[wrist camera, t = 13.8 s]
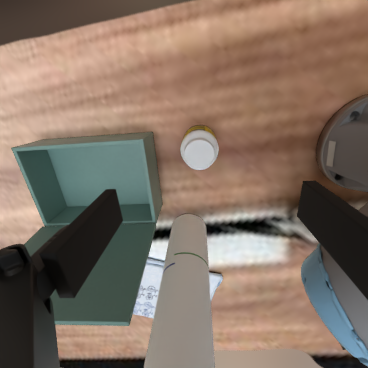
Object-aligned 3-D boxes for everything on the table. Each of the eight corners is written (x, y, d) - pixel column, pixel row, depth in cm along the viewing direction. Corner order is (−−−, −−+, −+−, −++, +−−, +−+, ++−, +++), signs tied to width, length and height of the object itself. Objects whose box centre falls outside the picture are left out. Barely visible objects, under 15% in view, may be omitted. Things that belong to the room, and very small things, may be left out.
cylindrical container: (164, 225, 41) (124, 385, 18) (191, 207, 39) (182, 363, 16) (186, 247, 43) (174, 415, 20) (212, 231, 41) (232, 400, 18)
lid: (-54, 319, 21) (-50, 322, 22) (127, 322, 19) (129, 326, 20) (42, 226, 34) (44, 229, 35) (155, 223, 33) (156, 226, 33)
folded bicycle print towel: (139, 254, 45) (136, 261, 43) (224, 273, 45) (225, 280, 43) (130, 307, 52) (127, 315, 50) (203, 322, 53) (203, 331, 51)
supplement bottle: (205, 117, 32) (208, 125, 23) (220, 146, 34) (229, 163, 25) (177, 135, 34) (170, 148, 25) (193, 161, 35) (192, 182, 26)
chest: (42, 139, 35) (10, 147, 29) (152, 131, 34) (143, 139, 28) (67, 207, 41) (44, 226, 35) (162, 204, 39) (156, 223, 33)
